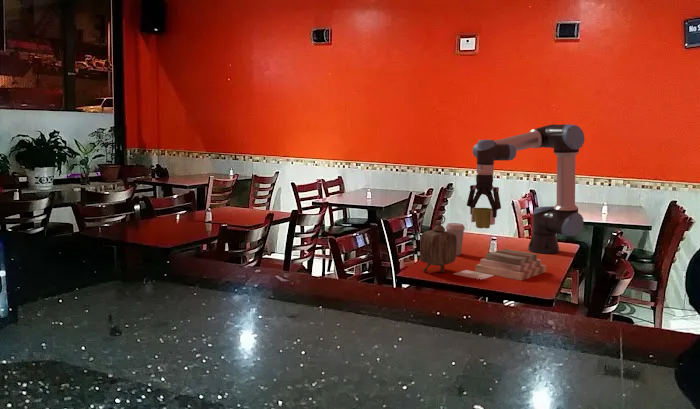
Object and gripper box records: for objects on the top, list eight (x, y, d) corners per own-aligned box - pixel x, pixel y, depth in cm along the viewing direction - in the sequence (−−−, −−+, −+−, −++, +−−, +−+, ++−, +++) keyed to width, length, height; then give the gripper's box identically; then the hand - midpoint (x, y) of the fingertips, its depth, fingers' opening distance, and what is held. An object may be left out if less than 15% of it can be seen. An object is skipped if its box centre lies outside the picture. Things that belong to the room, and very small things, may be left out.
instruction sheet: (466, 270, 276) (466, 269, 276) (494, 275, 266) (494, 275, 266) (453, 274, 269) (453, 273, 269) (481, 279, 259) (481, 279, 259)
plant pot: (468, 227, 285) (468, 208, 284) (479, 225, 291) (480, 206, 290) (485, 230, 278) (486, 210, 277) (497, 227, 285) (497, 208, 284)
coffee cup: (442, 255, 308) (443, 225, 307) (447, 251, 317) (448, 222, 315) (461, 256, 305) (462, 226, 303) (465, 253, 314) (466, 223, 312)
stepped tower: (501, 264, 290) (501, 247, 289) (545, 272, 275) (546, 254, 274) (475, 271, 274) (475, 253, 273) (520, 280, 259) (521, 261, 258)
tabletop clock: (442, 267, 281) (444, 212, 278) (457, 271, 274) (459, 215, 270) (419, 271, 272) (420, 215, 269) (433, 276, 265) (435, 217, 262)
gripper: (459, 172, 287) (458, 221, 290) (501, 176, 271) (499, 227, 274) (469, 172, 292) (467, 219, 295) (510, 175, 277) (508, 225, 279)
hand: (482, 223), depth 284 cm, fingers closed on plant pot, 9 cm apart
